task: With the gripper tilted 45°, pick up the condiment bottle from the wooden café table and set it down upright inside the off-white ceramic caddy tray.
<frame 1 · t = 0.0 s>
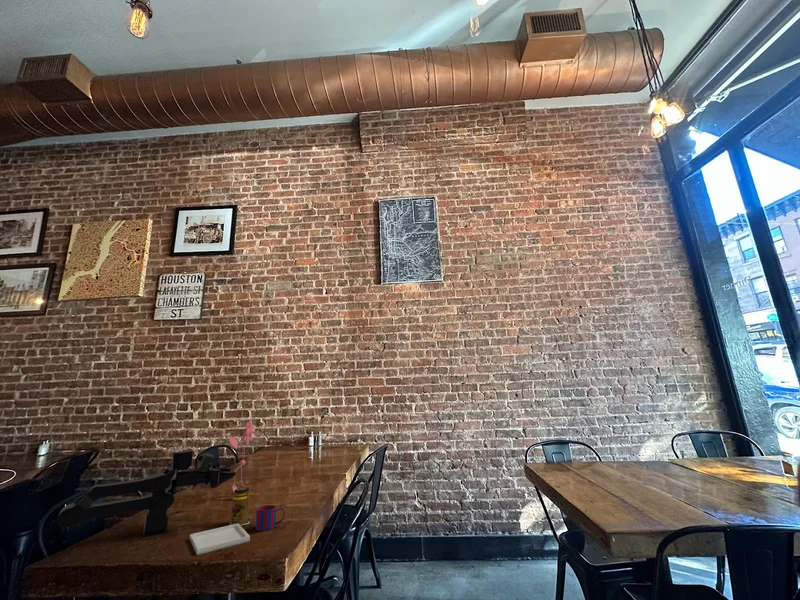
hand: (233, 471, 149), 17 cm above the table, tool horizontal, fingers open, 9 cm apart
condiment: (240, 522, 138), on the table
caddy tray: (219, 540, 121), on the table
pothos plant: (245, 496, 172), on the table
mug: (270, 528, 131), on the table
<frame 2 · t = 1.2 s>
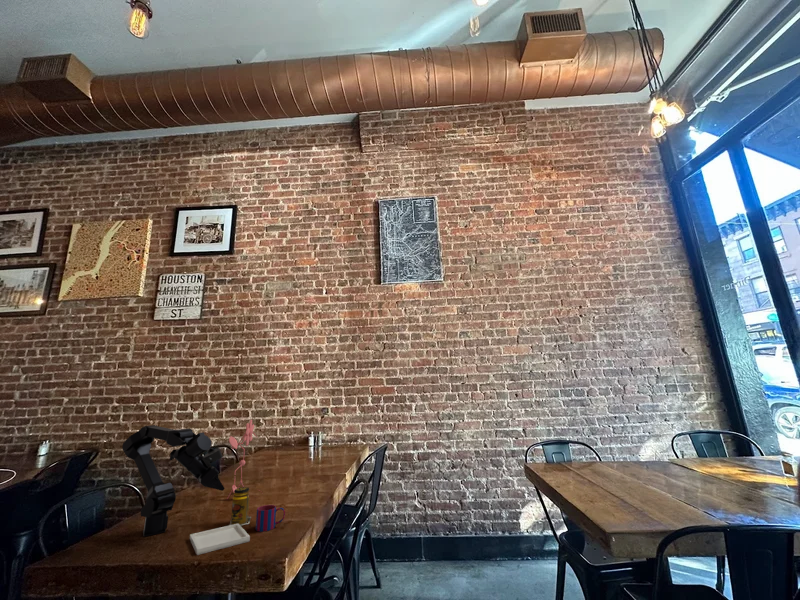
hand: (220, 487, 136), 14 cm above the table, tool tilted 45°, fingers open, 9 cm apart
nothing on the table moved.
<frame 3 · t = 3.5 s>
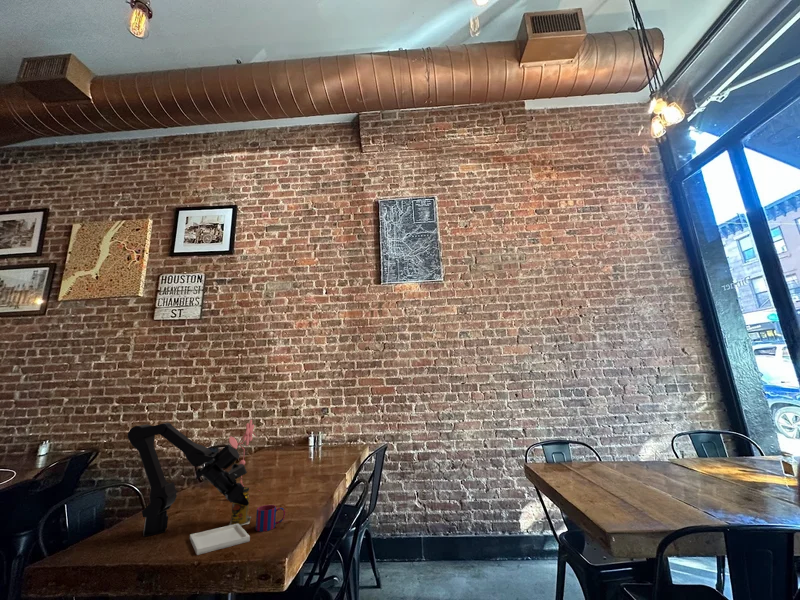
hand: (245, 502, 140), 7 cm above the table, tool tilted 45°, fingers open, 7 cm apart
condiment: (240, 522, 138), on the table, touching gripper
everything else where it was.
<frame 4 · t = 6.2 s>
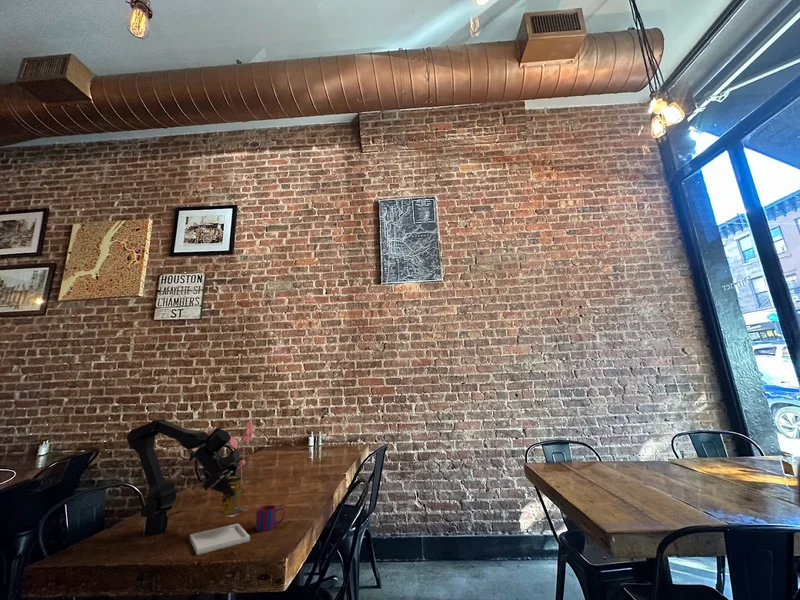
hand: (237, 492, 130), 13 cm above the table, tool tilted 45°, fingers closed on condiment, 6 cm apart
condiment: (231, 513, 129), point 6 cm above the table, touching gripper
everything else where it was.
when the fingers open (8 cm above the table, at t = 8.3 s): condiment drops 1 cm, resting on caddy tray.
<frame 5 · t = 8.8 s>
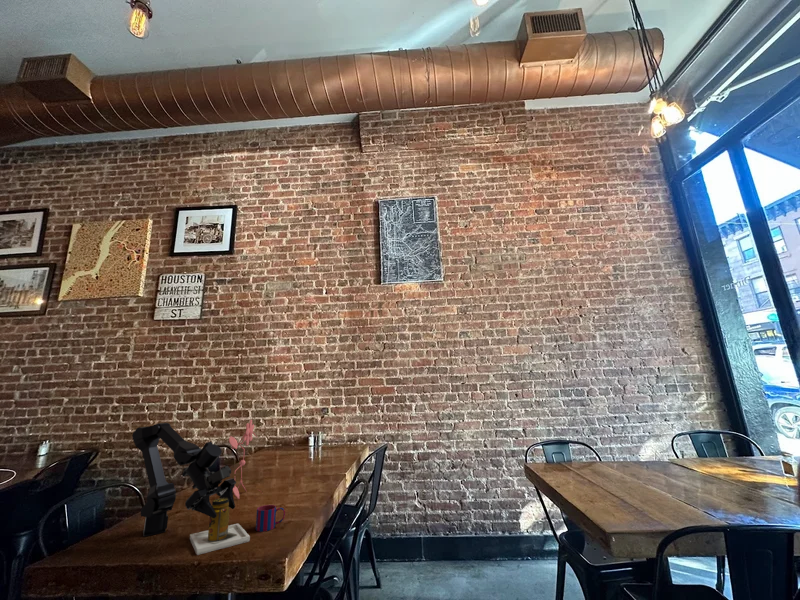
hand: (225, 512, 123), 9 cm above the table, tool tilted 45°, fingers open, 9 cm apart
condiment: (220, 538, 122), resting on caddy tray
everything else where it was.
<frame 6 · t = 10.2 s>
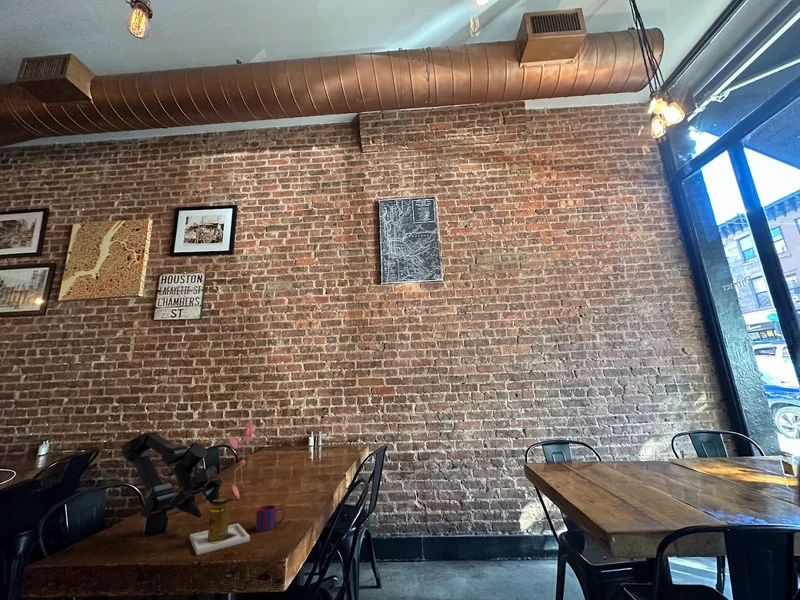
hand: (210, 512, 124), 8 cm above the table, tool tilted 45°, fingers open, 9 cm apart
nothing on the table moved.
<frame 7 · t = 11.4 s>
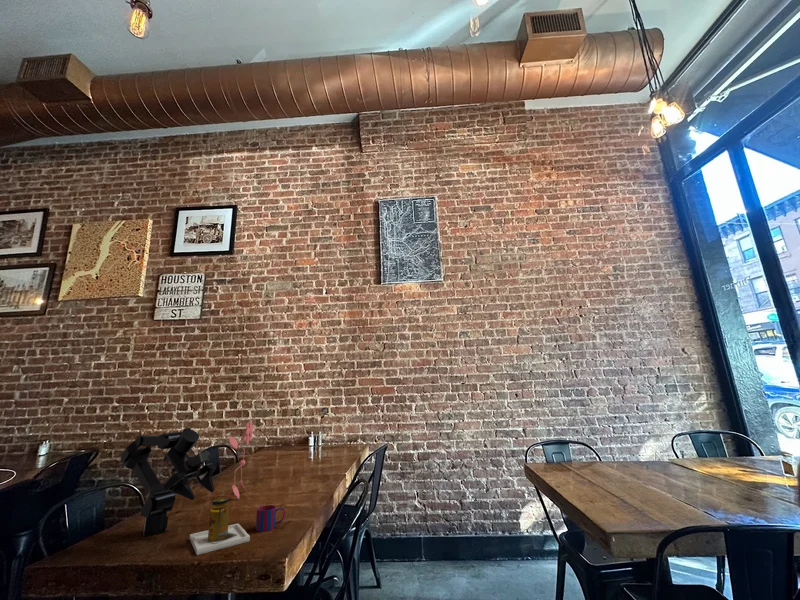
hand: (203, 495, 126), 14 cm above the table, tool tilted 45°, fingers open, 9 cm apart
nothing on the table moved.
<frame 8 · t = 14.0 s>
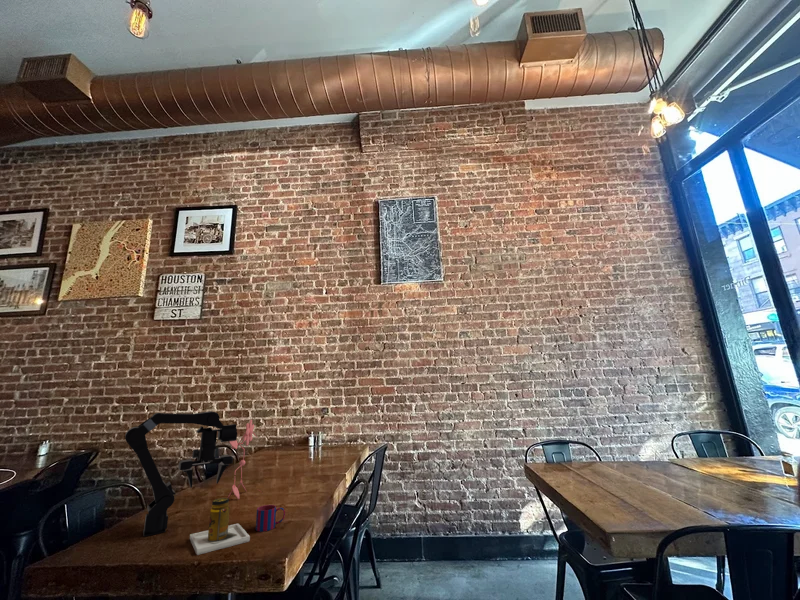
hand: (204, 485, 142), 13 cm above the table, tool pointing down, fingers open, 9 cm apart
nothing on the table moved.
at the end: condiment inside the target area on the caddy tray (0.9 cm from its centre), point 0.3 cm above the caddy tray's base; condiment tilted 0°; the gripper is holding nothing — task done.
